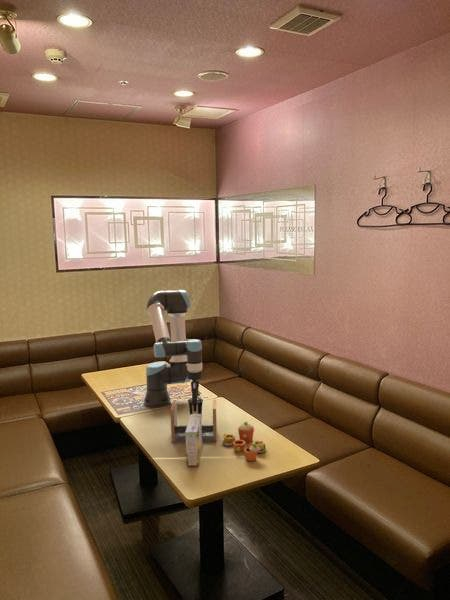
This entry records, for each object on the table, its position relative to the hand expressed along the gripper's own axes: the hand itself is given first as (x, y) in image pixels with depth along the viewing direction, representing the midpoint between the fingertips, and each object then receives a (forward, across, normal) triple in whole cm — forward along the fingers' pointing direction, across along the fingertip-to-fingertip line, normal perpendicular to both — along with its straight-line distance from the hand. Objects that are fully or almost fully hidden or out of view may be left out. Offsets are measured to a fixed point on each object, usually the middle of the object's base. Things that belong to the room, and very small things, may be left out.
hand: (195, 412), depth 243 cm
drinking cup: (+7, 0, 0) cm, 7 cm away
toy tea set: (+8, +27, +24) cm, 37 cm away
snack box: (+7, +33, +1) cm, 34 cm away
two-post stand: (+7, +13, 0) cm, 15 cm away
